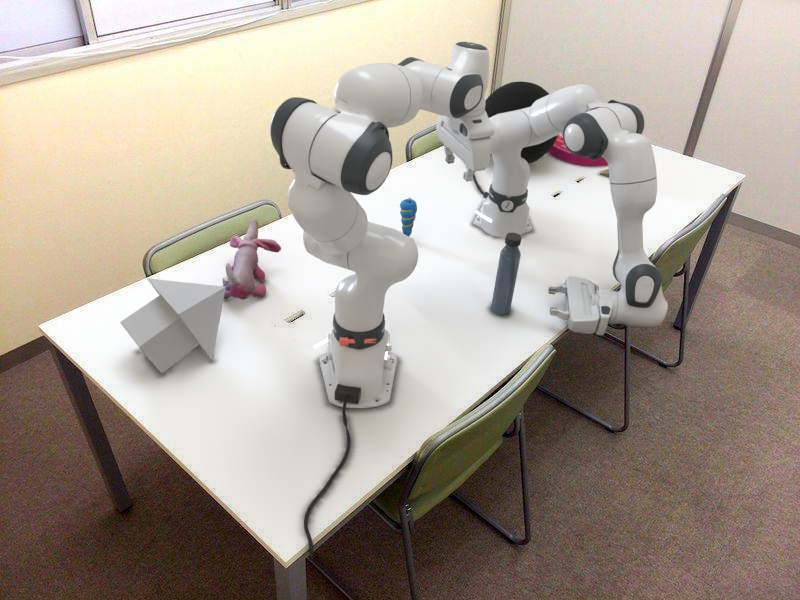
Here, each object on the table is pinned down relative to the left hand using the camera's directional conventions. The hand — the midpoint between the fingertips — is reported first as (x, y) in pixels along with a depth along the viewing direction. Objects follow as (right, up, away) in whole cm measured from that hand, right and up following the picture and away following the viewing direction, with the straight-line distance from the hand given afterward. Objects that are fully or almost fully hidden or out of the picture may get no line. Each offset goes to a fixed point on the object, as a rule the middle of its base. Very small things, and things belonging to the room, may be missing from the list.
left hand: (458, 171), depth 157 cm
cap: (+15, -15, +7) cm, 22 cm away
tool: (+70, +12, +85) cm, 111 cm away
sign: (+59, +30, +107) cm, 126 cm away
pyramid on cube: (-66, -42, +4) cm, 79 cm away
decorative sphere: (+29, +22, +95) cm, 102 cm away
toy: (-58, -26, +26) cm, 68 cm away
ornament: (-12, -12, +47) cm, 50 cm away
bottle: (+13, -34, +22) cm, 42 cm away
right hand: (+26, -31, +18) cm, 44 cm away
